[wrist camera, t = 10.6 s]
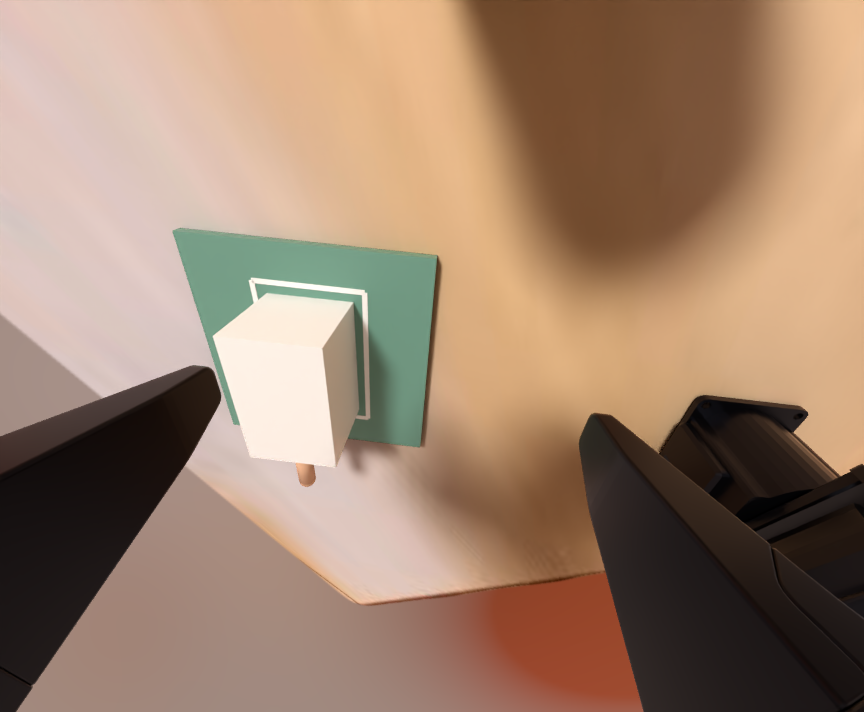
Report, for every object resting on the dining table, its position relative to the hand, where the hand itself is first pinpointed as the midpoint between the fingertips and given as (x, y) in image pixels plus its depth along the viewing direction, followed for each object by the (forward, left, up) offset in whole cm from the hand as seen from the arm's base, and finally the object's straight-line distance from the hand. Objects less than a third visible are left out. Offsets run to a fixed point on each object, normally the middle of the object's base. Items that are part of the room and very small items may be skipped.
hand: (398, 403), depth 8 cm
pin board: (+7, +7, -12) cm, 16 cm away
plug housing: (+7, +9, -11) cm, 16 cm away
